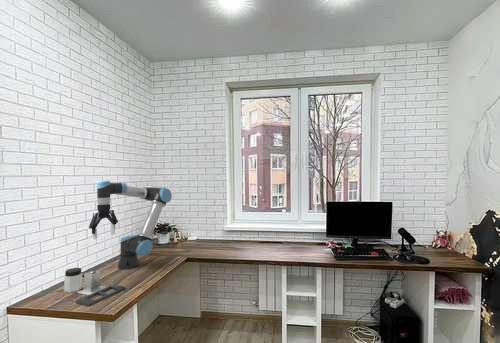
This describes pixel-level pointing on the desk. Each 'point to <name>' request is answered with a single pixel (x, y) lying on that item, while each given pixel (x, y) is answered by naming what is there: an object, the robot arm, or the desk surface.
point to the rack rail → (89, 302)
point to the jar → (72, 280)
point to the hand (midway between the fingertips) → (104, 236)
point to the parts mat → (90, 292)
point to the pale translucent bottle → (91, 281)
